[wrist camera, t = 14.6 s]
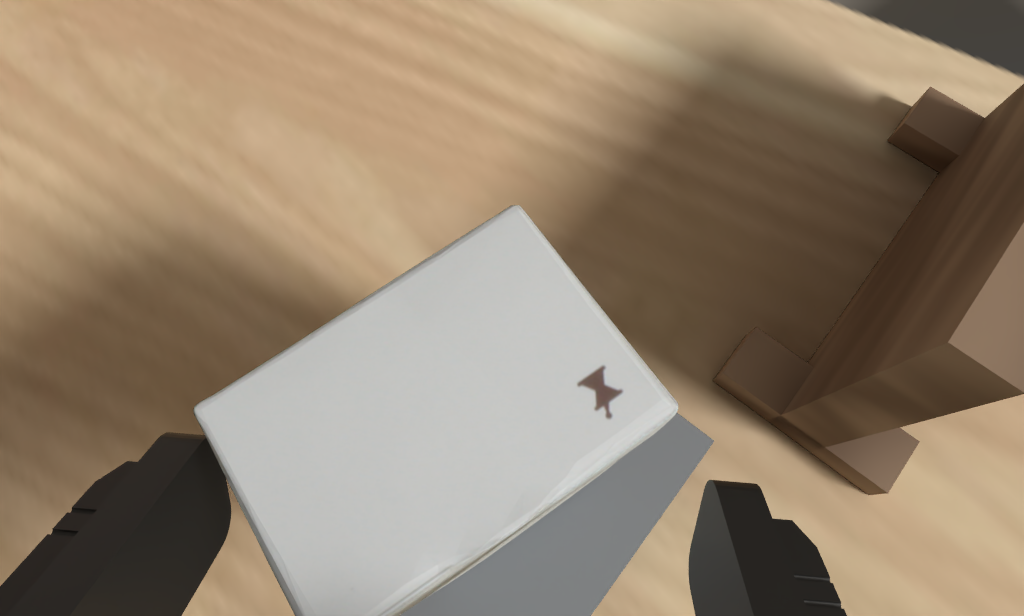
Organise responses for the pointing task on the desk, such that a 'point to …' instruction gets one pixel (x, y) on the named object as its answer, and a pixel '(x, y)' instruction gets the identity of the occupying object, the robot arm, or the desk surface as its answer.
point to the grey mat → (578, 537)
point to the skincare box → (430, 423)
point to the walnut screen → (913, 308)
